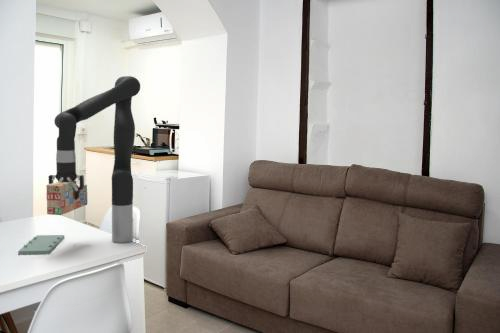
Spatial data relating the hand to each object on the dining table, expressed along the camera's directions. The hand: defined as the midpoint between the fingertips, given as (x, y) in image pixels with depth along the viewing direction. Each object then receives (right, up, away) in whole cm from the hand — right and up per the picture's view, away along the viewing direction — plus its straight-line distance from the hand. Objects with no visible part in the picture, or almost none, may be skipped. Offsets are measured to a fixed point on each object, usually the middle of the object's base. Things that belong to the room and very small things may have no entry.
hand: (66, 199), depth 189 cm
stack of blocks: (0, -5, +1) cm, 5 cm away
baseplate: (-13, -21, +6) cm, 26 cm away
